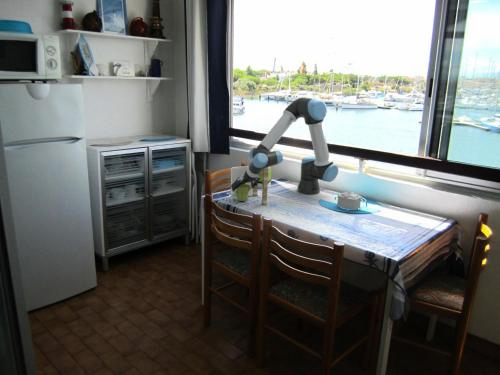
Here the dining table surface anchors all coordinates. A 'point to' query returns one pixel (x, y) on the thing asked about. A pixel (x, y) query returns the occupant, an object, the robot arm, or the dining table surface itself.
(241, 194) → the plant pot
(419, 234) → the dining table surface
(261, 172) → the tea box
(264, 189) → the door frame
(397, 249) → the dining table surface
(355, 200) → the lumpy-topped squat cylinder
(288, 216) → the dining table surface
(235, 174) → the door leaf
